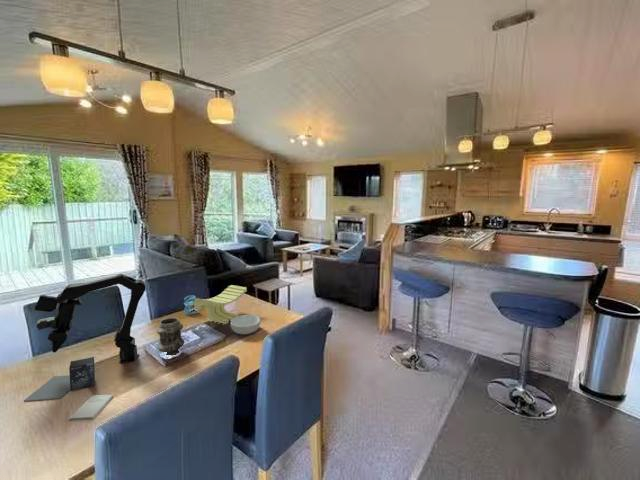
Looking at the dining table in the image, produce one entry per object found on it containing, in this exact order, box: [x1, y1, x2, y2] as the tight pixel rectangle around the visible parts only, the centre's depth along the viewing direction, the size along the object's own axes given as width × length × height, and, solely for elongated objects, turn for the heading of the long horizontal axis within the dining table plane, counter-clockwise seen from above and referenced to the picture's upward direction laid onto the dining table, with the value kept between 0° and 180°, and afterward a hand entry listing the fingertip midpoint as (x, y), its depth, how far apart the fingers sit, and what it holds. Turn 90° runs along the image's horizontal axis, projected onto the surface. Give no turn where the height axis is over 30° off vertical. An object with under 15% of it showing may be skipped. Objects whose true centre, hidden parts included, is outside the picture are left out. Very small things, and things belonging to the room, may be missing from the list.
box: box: [68, 356, 96, 391], centre depth 127 cm, size 8×6×11 cm
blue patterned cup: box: [183, 294, 200, 316], centre depth 205 cm, size 8×8×12 cm
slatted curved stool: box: [193, 284, 248, 325], centre depth 196 cm, size 30×16×18 cm, turn 154°
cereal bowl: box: [230, 314, 261, 336], centre depth 178 cm, size 17×17×7 cm
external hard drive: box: [68, 394, 114, 422], centre depth 115 cm, size 2×8×12 cm
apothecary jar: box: [155, 317, 185, 355], centre depth 152 cm, size 12×12×18 cm
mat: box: [23, 374, 71, 402], centre depth 127 cm, size 13×16×1 cm
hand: (56, 347), depth 133 cm, fingers open, 9 cm apart
